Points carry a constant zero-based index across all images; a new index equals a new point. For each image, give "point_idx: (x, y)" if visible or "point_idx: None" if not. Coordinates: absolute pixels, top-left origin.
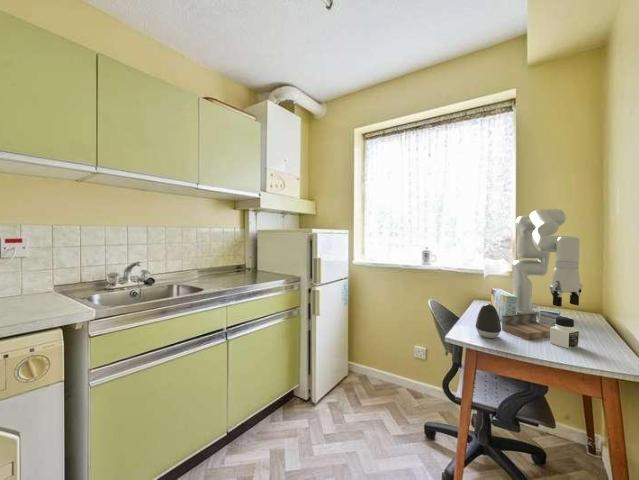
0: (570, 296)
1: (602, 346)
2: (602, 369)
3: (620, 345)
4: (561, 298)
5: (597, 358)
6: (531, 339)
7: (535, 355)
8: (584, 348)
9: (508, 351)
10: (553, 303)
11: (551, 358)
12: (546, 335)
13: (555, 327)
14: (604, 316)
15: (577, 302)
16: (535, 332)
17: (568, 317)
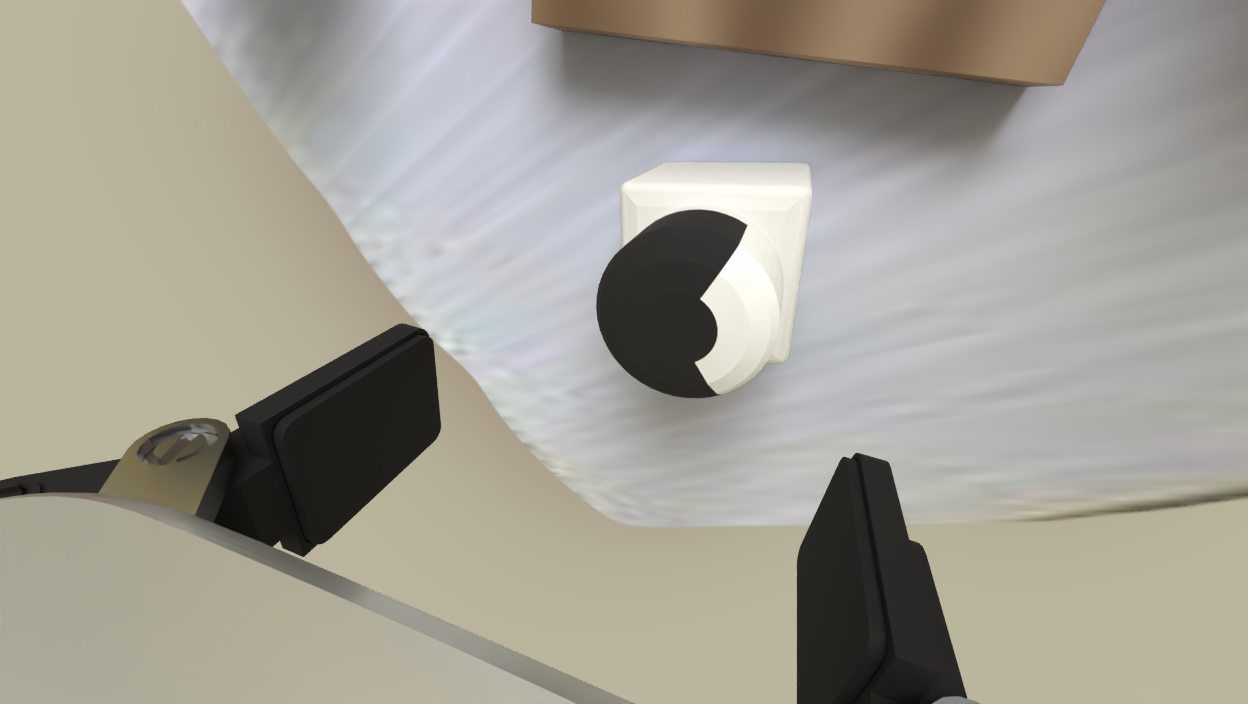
0: (859, 613)
1: (981, 392)
2: (543, 456)
3: (1172, 462)
4: (317, 533)
5: (663, 421)
6: (601, 34)
7: (387, 242)
8: None
9: (285, 136)
10: (388, 342)
11: (435, 301)
12: (790, 55)
13: (643, 223)
14: None
15: (798, 604)
16: (626, 31)
17: (723, 351)
